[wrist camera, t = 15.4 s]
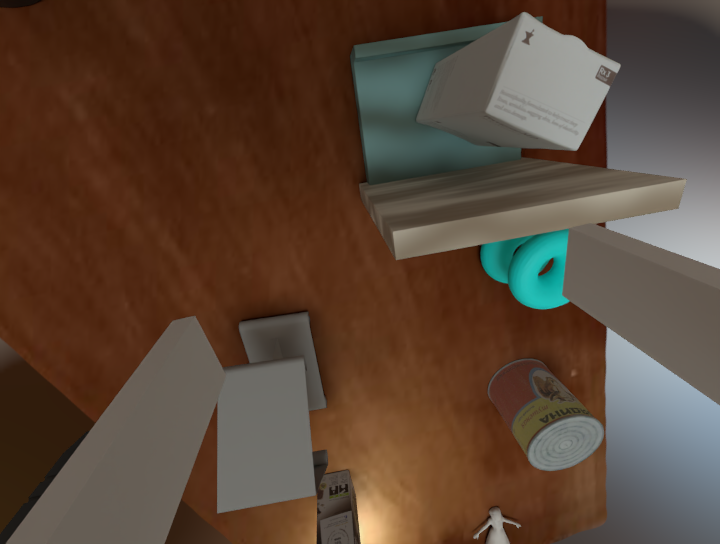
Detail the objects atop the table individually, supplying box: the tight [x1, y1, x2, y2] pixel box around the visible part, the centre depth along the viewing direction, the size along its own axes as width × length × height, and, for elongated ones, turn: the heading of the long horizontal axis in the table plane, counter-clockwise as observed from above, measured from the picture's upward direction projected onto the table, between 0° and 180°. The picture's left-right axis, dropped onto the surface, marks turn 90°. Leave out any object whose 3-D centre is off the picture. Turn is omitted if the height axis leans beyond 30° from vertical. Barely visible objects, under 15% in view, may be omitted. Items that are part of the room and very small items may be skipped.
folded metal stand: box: [217, 312, 328, 513], centre depth 39 cm, size 18×10×20 cm, turn 6°
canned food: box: [488, 359, 604, 471], centre depth 50 cm, size 11×11×12 cm
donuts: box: [480, 229, 569, 309], centre depth 39 cm, size 10×10×10 cm
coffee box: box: [317, 470, 361, 544], centre depth 54 cm, size 9×6×16 cm
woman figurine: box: [473, 507, 521, 544], centre depth 73 cm, size 12×4×18 cm
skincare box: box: [416, 12, 621, 151], centre depth 27 cm, size 8×6×15 cm
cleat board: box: [350, 16, 687, 260], centre depth 27 cm, size 15×20×20 cm
